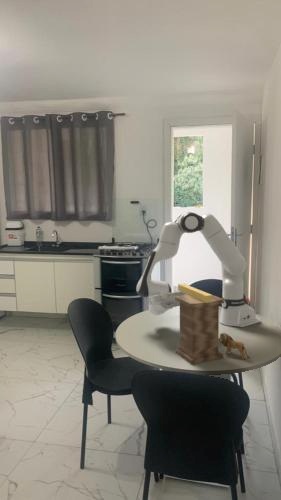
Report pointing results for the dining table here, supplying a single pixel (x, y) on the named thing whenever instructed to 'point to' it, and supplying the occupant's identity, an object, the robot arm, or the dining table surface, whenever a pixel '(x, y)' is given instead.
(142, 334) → the dining table surface
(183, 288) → the mustard rod
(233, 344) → the lion figurine
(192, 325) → the walnut pedestal
